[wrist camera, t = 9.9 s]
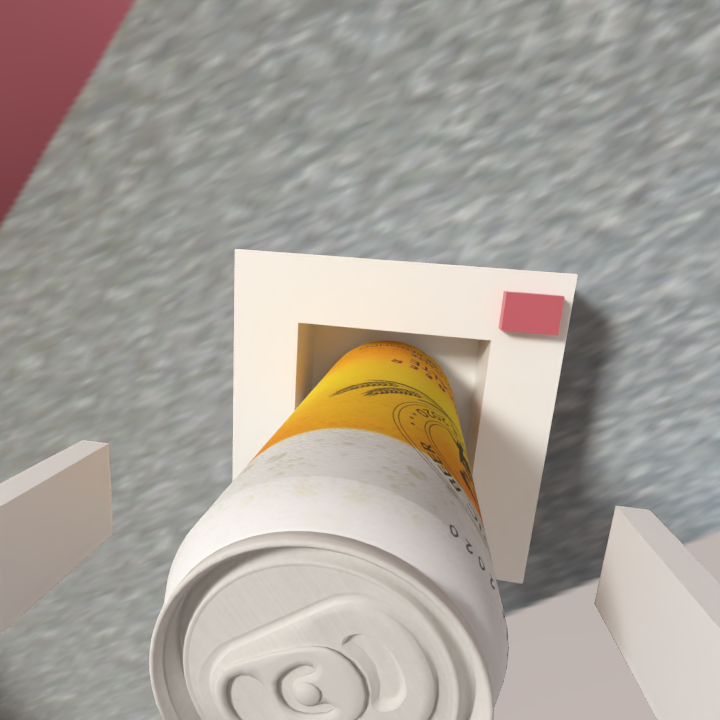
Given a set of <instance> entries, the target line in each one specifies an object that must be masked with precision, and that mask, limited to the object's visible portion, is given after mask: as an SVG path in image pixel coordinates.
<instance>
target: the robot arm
mask: <svg viewBox="0 0 720 720" xmlns="http://www.w3.org/2000/svg"><path fill="white" fill-rule="evenodd" d="M112 535H113V516H112V497H111V478H110V459H109V443H101V442H93V441H85V440H82V441H80V442H78V443H76V444H74V445H72V446H71V447H69V448H67V449H65V450H63V451H61V452H59V453H57V454H55V455H53V456H51V457H50V458H48V459H46V460H44V461H42V462H40V463H38V464H36V465H34V466H32V467H31V468H29V469H27V470H25V471H23V472H21V473H19V474H17V475H15V476H13V477H12V478H10V479H8V480H6V481H4V482H2V483H0V635H1V634H2V633H3V632H4V631H5V630H6V629H7V628H8V627H10V626H11V625H12V624H13V623H14V622H15V621H16V620H17V619H19V618H20V617H21V616H22V615H23V614H24V613H25V612H26V611H28V610H29V609H30V608H31V607H32V606H33V605H34V604H35V603H36V602H38V601H39V600H40V599H41V598H42V597H43V596H44V595H45V594H47V593H48V592H49V591H50V590H51V589H52V588H53V587H54V586H56V585H57V584H58V583H59V582H60V581H61V580H62V579H63V578H65V577H66V576H67V575H68V574H69V573H70V572H71V571H72V570H74V569H75V568H76V567H77V566H78V565H79V564H80V563H81V562H82V561H84V560H85V559H86V558H87V557H88V556H89V555H90V554H91V553H93V552H94V551H95V550H96V549H97V548H98V547H99V546H100V545H102V544H103V543H104V542H105V541H106V540H107V539H108V538H109V537H111V536H112ZM595 605H596V607H597V609H598V611H599V613H600V614H601V616H602V618H603V620H604V622H605V624H606V625H607V627H608V629H609V631H610V633H611V635H612V637H613V638H614V640H615V642H616V644H617V646H618V648H619V650H620V652H621V654H622V655H623V657H624V659H625V661H626V663H627V664H628V667H629V668H630V670H631V672H632V674H633V676H634V678H635V679H636V681H637V683H638V685H639V687H640V689H641V691H642V693H643V694H644V696H645V698H646V700H647V702H648V704H649V706H650V707H651V709H652V711H653V713H654V715H655V717H656V719H657V720H720V582H719V581H718V580H717V579H716V578H715V577H714V576H713V575H712V574H711V573H710V572H709V571H708V570H707V569H706V568H705V567H704V566H703V565H702V564H701V563H700V562H699V561H698V560H697V559H696V558H695V557H694V556H693V555H692V554H691V553H690V551H688V549H687V548H686V547H685V546H684V545H683V544H682V543H681V542H680V541H679V540H678V539H677V538H676V537H675V536H674V535H673V534H672V533H671V532H670V531H669V530H668V529H667V528H666V527H665V526H664V525H663V524H662V522H661V521H660V520H659V519H658V518H657V517H656V516H655V515H654V514H653V513H652V512H651V511H650V510H647V509H639V508H631V507H623V506H616V507H615V511H614V516H613V521H612V525H611V530H610V534H609V539H608V544H607V548H606V553H605V557H604V562H603V567H602V571H601V576H600V580H599V585H598V590H597V595H596V599H595Z"/></svg>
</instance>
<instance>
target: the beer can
mask: <svg viewBox="0 0 720 720" xmlns="http://www.w3.org/2000/svg"><path fill="white" fill-rule="evenodd" d="M508 649H509V646H508V631H507V625H506V620H505V615H504V611H503V606H502V602H501V598H500V593H499V589H498V585H497V581H496V576H495V572H494V568H493V563H492V559H491V555H490V551H489V546H488V542H487V538H486V533H485V529H484V525H483V521H482V516H481V512H480V508H479V504H478V499H477V495H476V491H475V486H474V482H473V478H472V474H471V469H470V465H469V461H468V456H467V452H466V448H465V444H464V439H463V435H462V431H461V426H460V422H459V418H458V414H457V409H456V405H455V401H454V397H453V392H452V388H451V386H450V383H449V381H448V378H447V376H446V375H445V373H444V371H443V370H442V368H441V367H440V366H439V365H438V364H437V362H435V361H434V360H433V359H432V358H431V357H430V356H429V355H427V354H426V353H425V352H423V351H421V350H420V349H418V348H416V347H414V346H411V345H409V344H405V343H402V342H396V341H375V342H370V343H366V344H363V345H361V346H358V347H356V348H354V349H352V350H351V351H349V352H348V353H346V354H345V355H344V356H343V357H342V358H340V359H339V360H338V361H337V363H336V364H335V365H334V366H333V367H332V368H331V369H330V371H329V372H328V373H327V374H326V375H325V376H324V377H323V379H322V380H321V381H320V382H319V383H318V384H317V386H316V387H315V388H314V389H313V390H312V391H311V392H310V394H309V395H308V396H307V397H306V398H305V399H304V400H303V402H302V403H301V404H300V405H299V406H298V407H297V408H296V410H295V411H294V412H293V413H292V414H291V415H290V417H289V418H288V419H287V420H286V421H285V422H284V423H283V425H282V426H281V427H280V428H279V429H278V430H277V431H276V433H275V434H274V435H273V436H272V437H271V438H270V439H269V441H268V442H267V443H266V444H265V445H264V446H263V448H262V449H261V450H260V451H259V452H258V453H257V454H256V456H255V457H254V458H253V459H252V460H251V461H250V462H249V464H248V465H247V466H246V467H245V468H244V469H243V470H242V472H241V473H240V474H239V475H238V476H237V477H236V479H235V480H234V481H233V482H232V483H231V484H230V485H229V487H228V488H227V489H226V490H225V491H224V492H223V493H222V495H221V496H220V497H219V498H218V499H217V500H216V501H215V503H214V504H213V505H212V506H211V507H210V508H209V510H208V511H207V512H206V513H205V514H204V515H203V516H202V518H201V519H200V520H199V521H198V522H197V523H196V525H195V526H194V527H193V528H192V529H191V531H190V532H189V533H188V534H187V536H186V538H185V539H184V541H183V542H182V544H181V546H180V547H179V549H178V551H177V554H176V556H175V558H174V560H173V563H172V566H171V569H170V573H169V576H168V581H167V587H166V594H165V600H164V606H163V608H162V610H161V612H160V614H159V616H158V619H157V621H156V624H155V628H154V631H153V634H152V638H151V645H150V653H149V670H150V678H151V686H152V690H153V693H154V697H155V701H156V704H157V706H158V709H159V712H160V714H161V717H162V719H163V720H493V718H494V707H495V704H496V701H497V698H498V696H499V693H500V690H501V688H502V685H503V682H504V678H505V673H506V669H507V662H508Z"/></svg>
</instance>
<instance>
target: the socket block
mask: <svg viewBox="0 0 720 720" xmlns="http://www.w3.org/2000/svg"><path fill="white" fill-rule="evenodd" d="M577 276H578V274H567V273H553V272H540V271H526V270H513V269H499V268H486V267H472V266H458V265H445V264H431V263H418V262H404V261H391V260H377V259H364V258H350V257H336V256H323V255H309V254H296V253H282V252H269V251H255V250H241V249H235V291H234V394H233V481H234V480H235V479H236V477H237V476H238V475H239V474H240V473H241V472H242V470H243V469H244V468H245V467H246V466H247V465H248V464H249V462H250V461H251V460H252V459H253V458H254V457H255V456H256V454H257V453H258V452H259V451H260V450H261V449H262V448H263V446H264V445H265V444H266V443H267V442H268V441H269V439H270V438H271V437H272V436H273V435H274V434H275V433H276V431H277V430H278V429H279V428H280V427H281V426H282V425H283V423H284V422H285V421H286V420H287V419H288V418H289V417H290V415H291V414H292V413H293V412H294V411H295V410H296V408H297V407H298V406H299V405H300V404H301V403H302V402H303V400H304V399H305V398H306V397H307V396H308V395H309V394H310V392H311V391H312V390H313V389H314V388H315V387H316V386H317V384H318V383H319V382H320V381H321V380H322V379H323V377H324V376H325V375H326V374H327V373H328V372H329V371H330V369H331V368H332V367H333V366H334V365H335V364H336V363H337V361H338V360H339V359H340V358H342V357H343V356H344V355H345V354H346V353H348V352H349V351H351V350H352V349H354V348H356V347H358V346H361V345H363V344H366V343H370V342H375V341H396V342H402V343H405V344H409V345H411V346H414V347H416V348H418V349H420V350H421V351H423V352H425V353H426V354H427V355H429V356H430V357H431V358H432V359H433V360H434V361H435V362H437V364H438V365H439V366H440V367H441V368H442V370H443V371H444V373H445V375H446V376H447V378H448V381H449V383H450V386H451V388H452V392H453V397H454V401H455V405H456V409H457V414H458V418H459V422H460V426H461V431H462V435H463V439H464V444H465V448H466V452H467V456H468V461H469V465H470V469H471V474H472V478H473V482H474V486H475V491H476V495H477V499H478V504H479V508H480V512H481V516H482V521H483V525H484V529H485V533H486V538H487V542H488V546H489V551H490V555H491V559H492V563H493V568H494V572H495V576H496V580H501V581H508V582H514V583H521V584H523V580H524V575H525V569H526V563H527V558H528V552H529V546H530V541H531V535H532V530H533V524H534V518H535V513H536V507H537V501H538V496H539V490H540V484H541V479H542V473H543V468H544V462H545V456H546V451H547V445H548V439H549V434H550V428H551V422H552V417H553V411H554V406H555V400H556V394H557V389H558V383H559V377H560V372H561V366H562V360H563V355H564V349H565V344H566V338H567V332H568V327H569V321H570V315H571V310H572V304H573V298H574V293H575V287H576V282H577Z"/></svg>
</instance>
